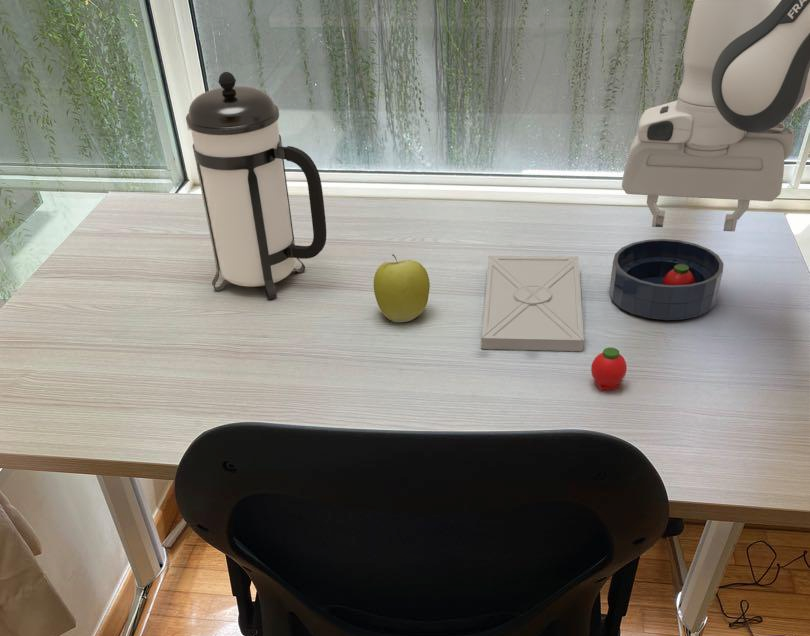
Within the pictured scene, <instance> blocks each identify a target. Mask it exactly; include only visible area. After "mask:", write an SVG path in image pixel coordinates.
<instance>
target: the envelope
mask: <svg viewBox="0 0 810 636" xmlns="http://www.w3.org/2000/svg"><path fill="white" fill-rule="evenodd" d="M485 282H486V284H485V295H484V304H483V305H484V306H483V315H482V317H483V318H482V328H481V339H480V340H481V342H480V345H481V346H480V348H481V349H482V350H511V351H513V350H515V351H551V352H553V351H554V352H555V351H557V352H583V350H584V326H583V325H584V324H583V322H584V321H583V311H582V309H583V308H582V293H581V277H580V262H579V256H560V255H559V256H558V255H557V256H550V255H549V256H548V255H547V256H546V255H541V256H540V255H489V256H488V262H487V273H486V281H485Z"/></svg>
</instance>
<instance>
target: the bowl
mask: <svg viewBox="0 0 810 636" xmlns="http://www.w3.org/2000/svg"><path fill="white" fill-rule="evenodd" d="M678 264H684V265H687V266H688V267H689V271H690V272H691V273H692V274H693V276H694V279H695V283H694V284H690V285H663V280H664V277H665V276H666V274H667V273H668V272H669V271H671V270H672V269H674V266H675V265H678ZM724 265H725V264H724V262H723V260H722V258H721V257H720V255H719V254H717V253H716V252H714V251H713V250H711V249H710V248H709V247H705V246H702V245H700V244H698V243H694V242H689V241H685V240H680V239H671V238H670V239H669V238H657V239H656V238H654V239H643V240H639V241H635V242H631V243H629V244H627V245H624V246H622V247H621V248H620V249H619V250H618V251H616V252H615V253H614V257H613V260H612V267H611V276H610V282H609V290H608V294H609V296H610V298H611V301H612V302H614V303H615V304H616V305H617V306H618V307H619V308H620V309H622V310H624V311H626V312H628V313H631V314H632V315H636V316H639V317H642V318H646V319H652V320H663V321H675V320H687V319H692V318H696V317H699V316H702V315H704V314H706V313H707V312H710V311H711V310H712V308H714V306H715V305H716V304H717V301H718V295H719V291H720V287H721V282H722V277H723V273H724Z"/></svg>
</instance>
